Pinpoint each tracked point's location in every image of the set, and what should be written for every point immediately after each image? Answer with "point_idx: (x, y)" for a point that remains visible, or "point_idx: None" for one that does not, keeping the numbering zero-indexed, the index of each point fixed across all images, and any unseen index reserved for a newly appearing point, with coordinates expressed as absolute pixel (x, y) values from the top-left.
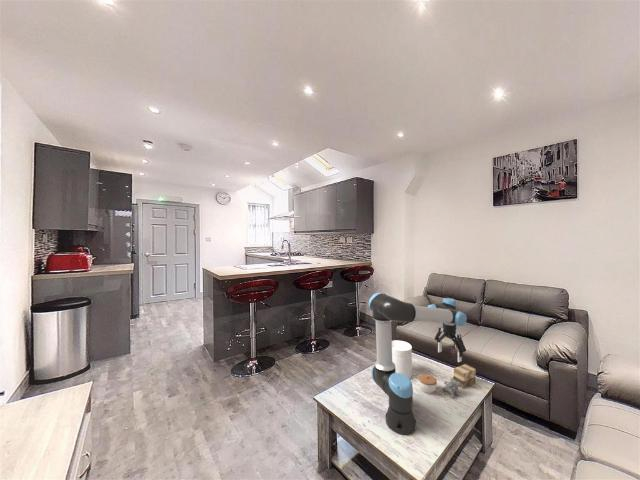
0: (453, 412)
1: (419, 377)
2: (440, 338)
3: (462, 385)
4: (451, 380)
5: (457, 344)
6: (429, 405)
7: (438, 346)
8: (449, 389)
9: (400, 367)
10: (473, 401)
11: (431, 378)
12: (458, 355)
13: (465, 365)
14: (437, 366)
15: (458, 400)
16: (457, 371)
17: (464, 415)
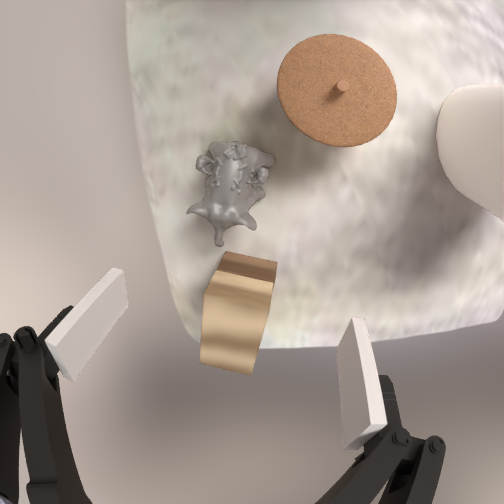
0: (165, 59)
1: (377, 61)
2: (349, 501)
3: (227, 258)
4: (242, 212)
5: (26, 423)
6: (253, 10)
7: (371, 373)
8: (224, 146)
9: (493, 88)
10: (157, 197)
11: (320, 106)
12: (76, 310)
13: (243, 364)
14: (377, 324)
15: (192, 148)
16: (245, 299)
17: (134, 83)
